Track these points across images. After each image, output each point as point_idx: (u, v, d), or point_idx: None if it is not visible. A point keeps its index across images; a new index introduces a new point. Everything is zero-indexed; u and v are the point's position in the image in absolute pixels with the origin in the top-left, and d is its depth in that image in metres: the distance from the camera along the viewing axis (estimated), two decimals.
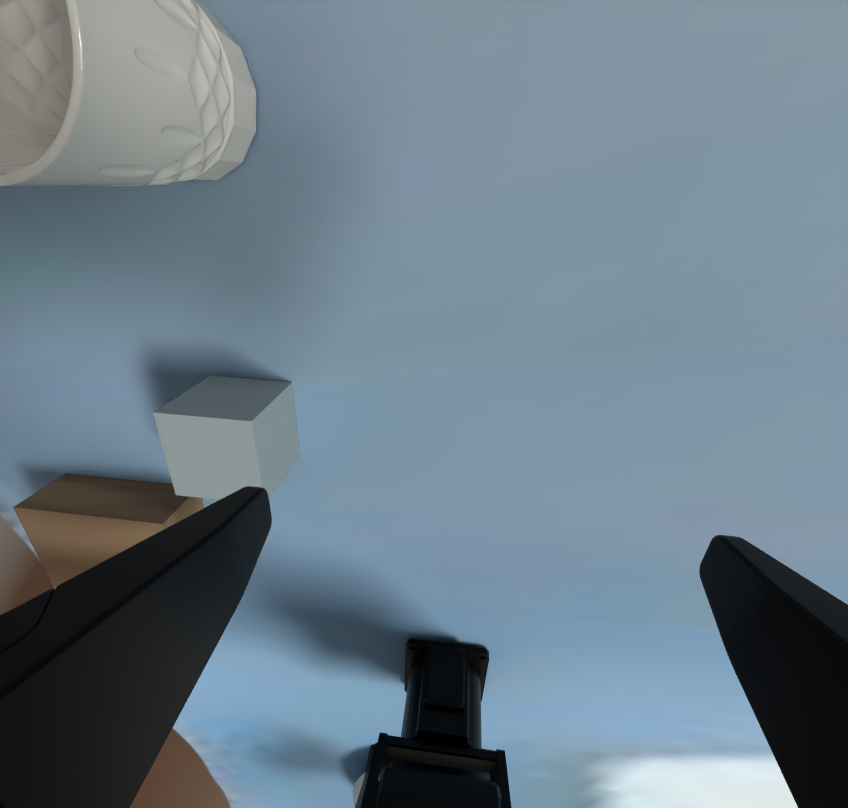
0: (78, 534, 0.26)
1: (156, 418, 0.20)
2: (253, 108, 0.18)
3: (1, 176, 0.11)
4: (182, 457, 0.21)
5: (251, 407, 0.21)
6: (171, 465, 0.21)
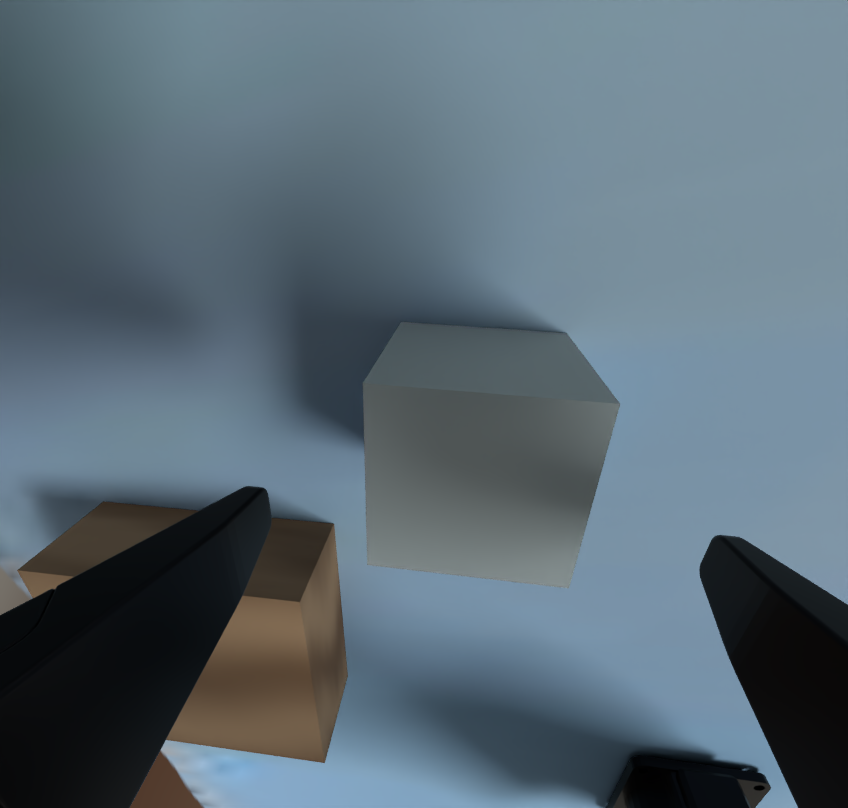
0: None
1: (368, 398, 0.08)
2: None
3: None
4: (407, 488, 0.09)
5: (569, 375, 0.09)
6: (375, 505, 0.10)
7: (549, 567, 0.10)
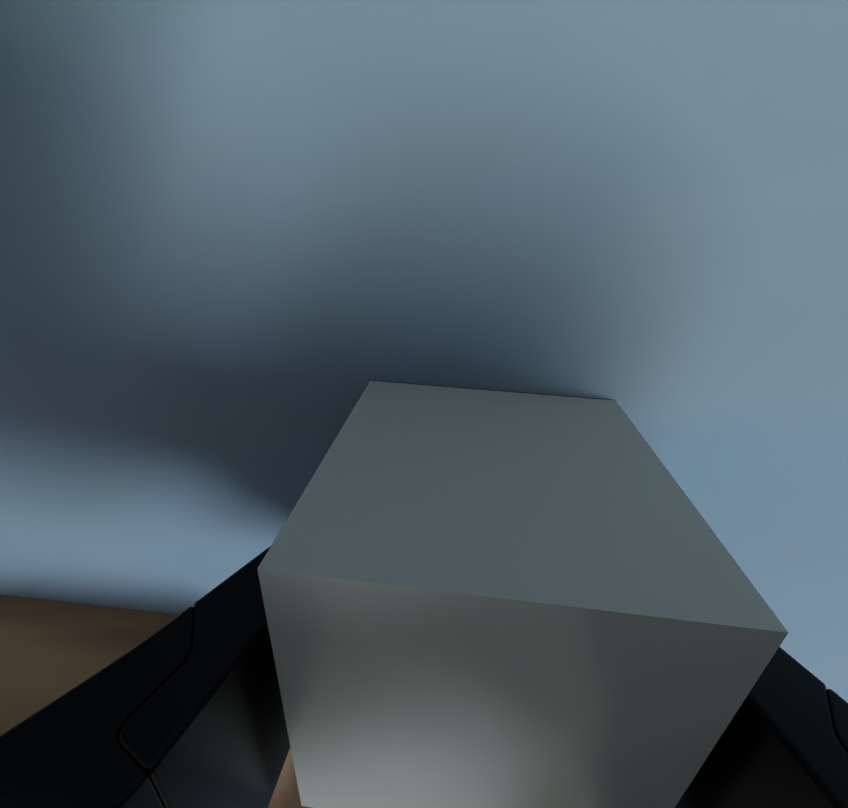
0: None
1: (271, 592, 0.04)
2: None
3: None
4: (357, 722, 0.05)
5: (651, 521, 0.05)
6: (304, 739, 0.05)
7: None
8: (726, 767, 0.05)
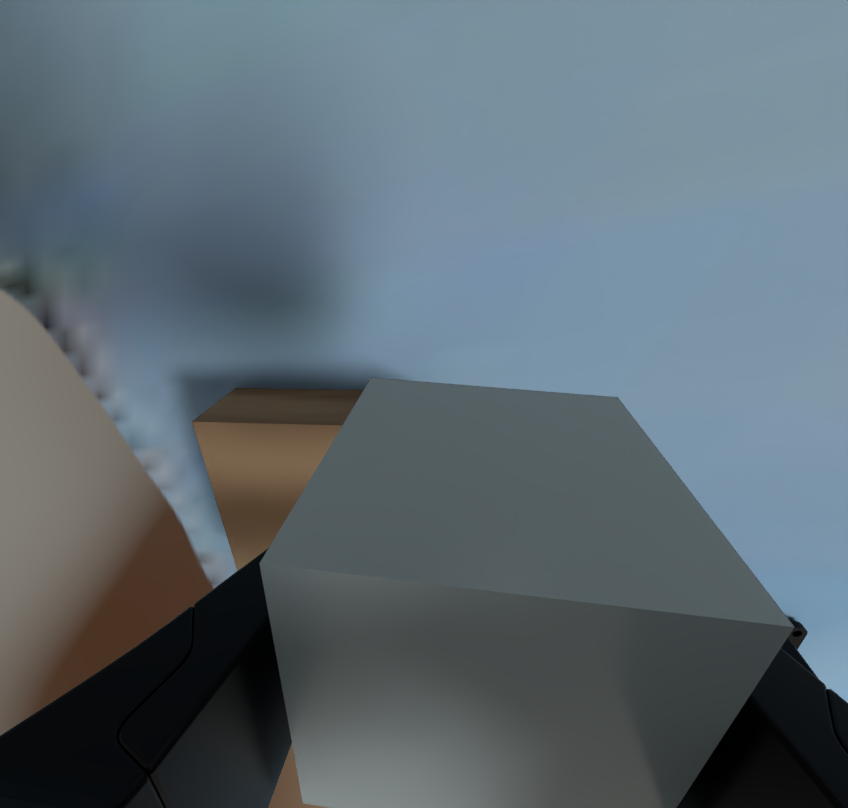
0: (285, 458, 0.18)
1: (273, 587, 0.04)
2: None
3: None
4: (360, 719, 0.05)
5: (655, 516, 0.05)
6: (306, 736, 0.05)
7: None
8: (726, 767, 0.05)
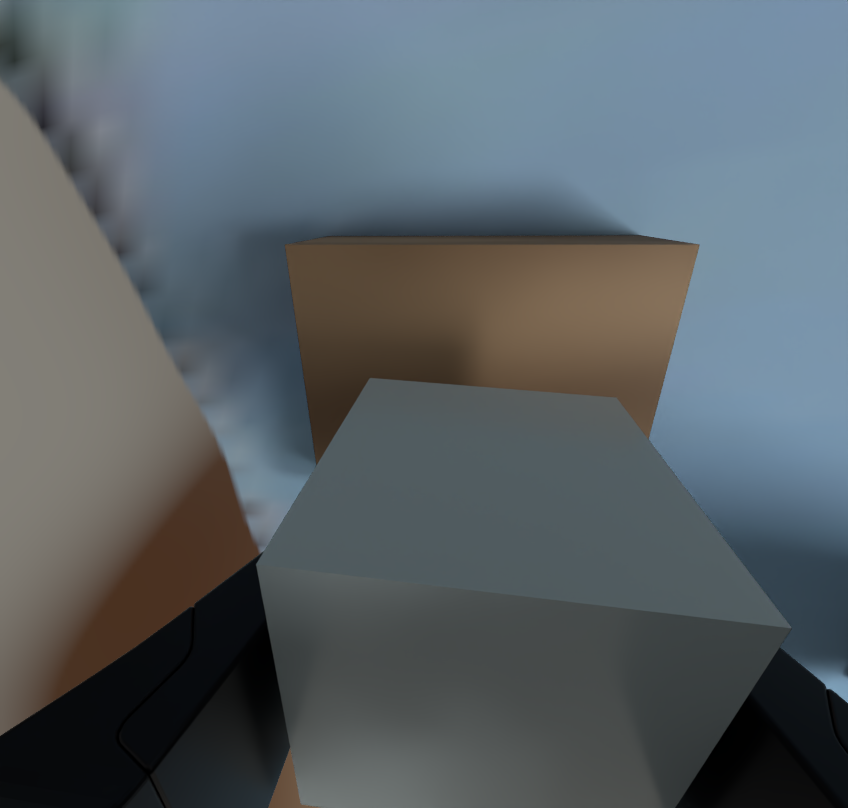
0: (435, 313, 0.11)
1: (270, 588, 0.04)
2: None
3: None
4: (357, 720, 0.05)
5: (652, 517, 0.05)
6: (304, 737, 0.05)
7: None
8: (726, 767, 0.05)
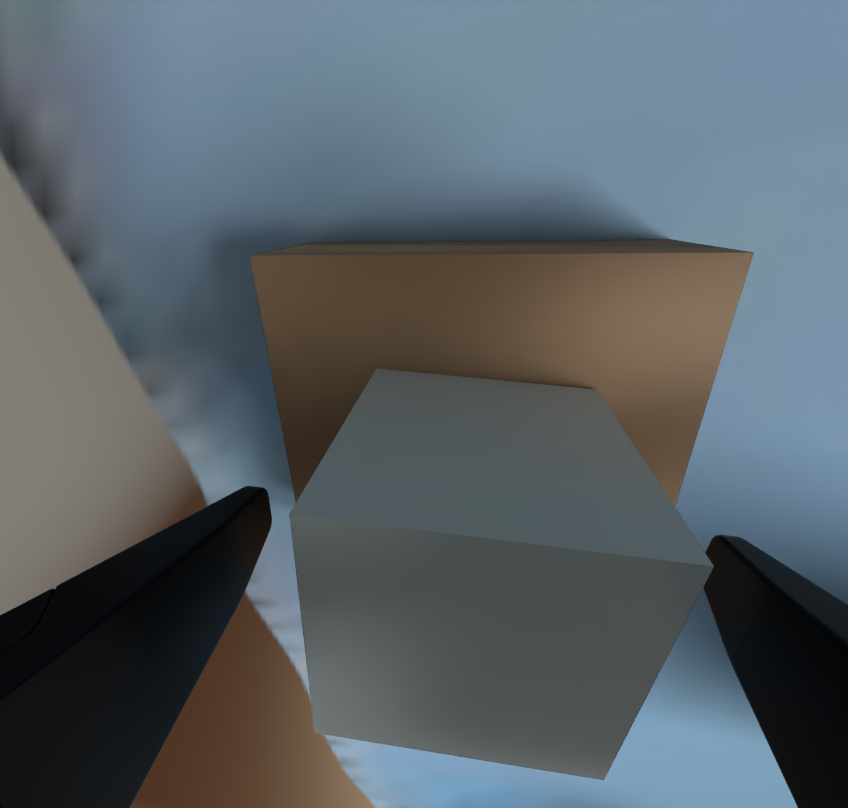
0: (430, 335, 0.09)
1: (299, 534, 0.05)
2: None
3: None
4: (366, 651, 0.06)
5: (615, 485, 0.06)
6: (320, 668, 0.06)
7: (577, 756, 0.07)
8: None
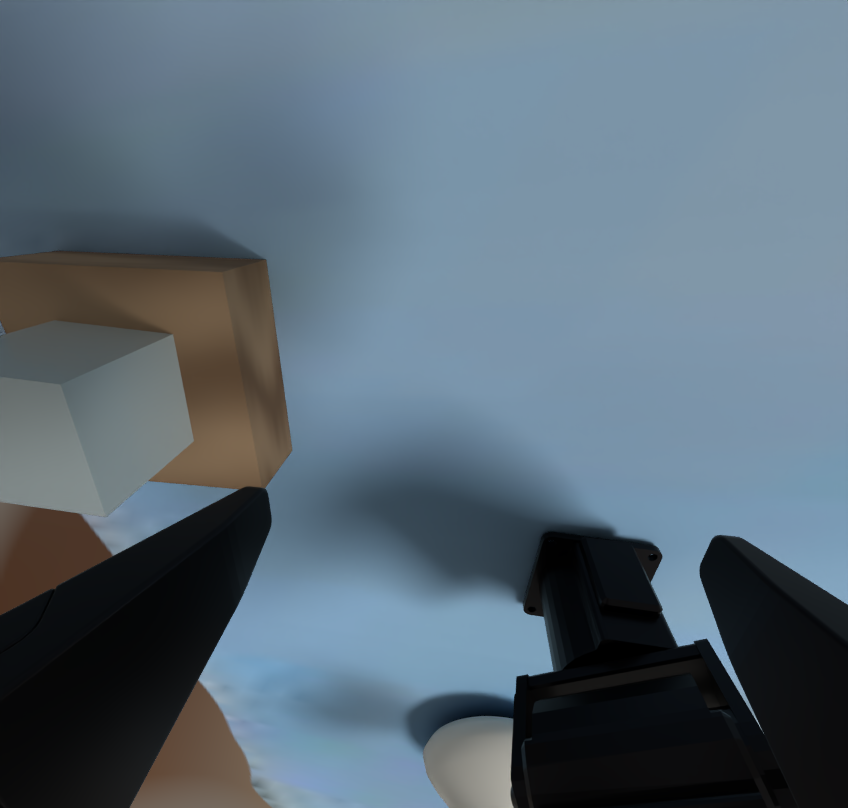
0: (82, 309, 0.16)
1: None
2: None
3: None
4: None
5: (79, 364, 0.13)
6: None
7: (85, 500, 0.14)
8: None
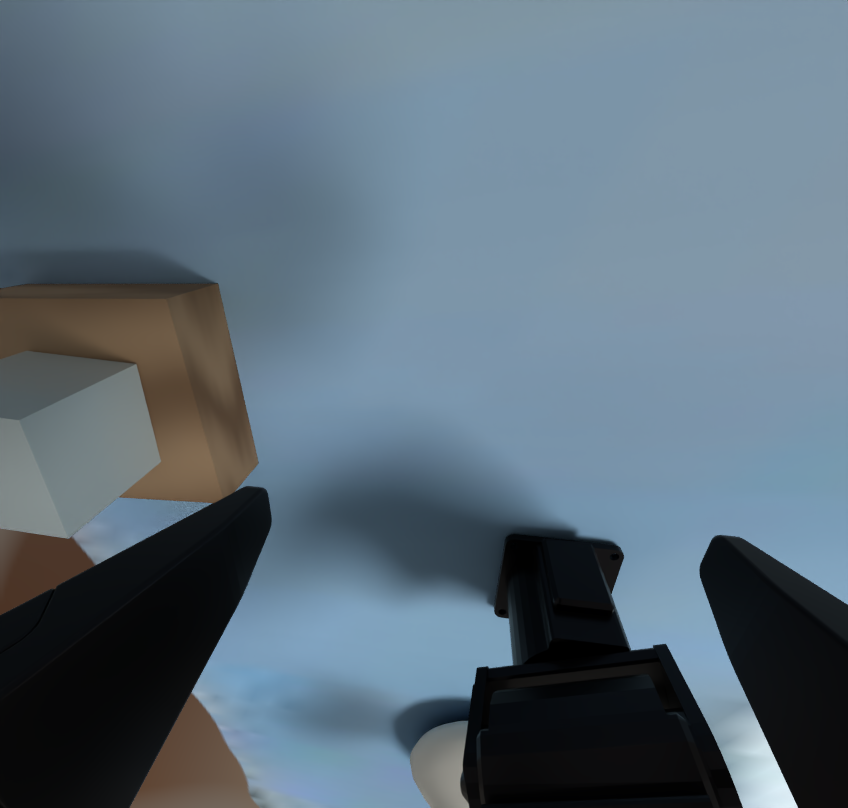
0: (43, 339, 0.17)
1: None
2: None
3: None
4: None
5: (40, 399, 0.14)
6: None
7: (48, 523, 0.15)
8: None
